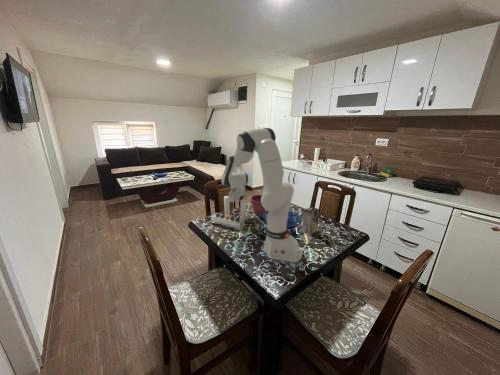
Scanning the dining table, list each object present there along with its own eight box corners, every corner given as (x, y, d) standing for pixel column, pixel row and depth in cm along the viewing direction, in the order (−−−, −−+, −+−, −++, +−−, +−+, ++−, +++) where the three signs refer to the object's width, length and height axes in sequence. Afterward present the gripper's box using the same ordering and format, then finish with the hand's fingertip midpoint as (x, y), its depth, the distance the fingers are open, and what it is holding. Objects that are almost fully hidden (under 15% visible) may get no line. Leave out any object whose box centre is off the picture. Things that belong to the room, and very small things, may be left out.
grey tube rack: (245, 225, 149) (245, 217, 147) (240, 230, 143) (240, 221, 140) (216, 218, 160) (215, 210, 157) (210, 222, 153) (209, 214, 151)
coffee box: (309, 227, 148) (311, 206, 143) (317, 230, 143) (319, 209, 138) (301, 231, 142) (303, 209, 137) (309, 235, 137) (312, 213, 132)
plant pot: (256, 217, 161) (256, 202, 157) (247, 211, 172) (247, 196, 168) (271, 214, 167) (272, 199, 163) (262, 207, 179) (262, 193, 175)
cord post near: (247, 219, 159) (247, 199, 154) (244, 221, 155) (244, 201, 150) (242, 217, 160) (241, 198, 155) (239, 220, 157) (239, 200, 152)
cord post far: (231, 215, 164) (230, 196, 159) (228, 217, 161) (227, 198, 155) (226, 214, 166) (225, 195, 161) (223, 216, 162) (222, 197, 157)
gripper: (234, 191, 146) (234, 209, 151) (246, 183, 164) (246, 199, 168) (226, 189, 149) (226, 207, 153) (239, 182, 166) (239, 198, 171)
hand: (237, 203), depth 161 cm, fingers closed
